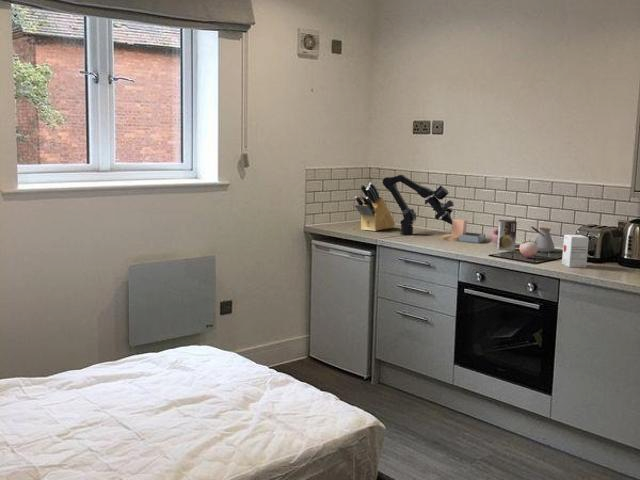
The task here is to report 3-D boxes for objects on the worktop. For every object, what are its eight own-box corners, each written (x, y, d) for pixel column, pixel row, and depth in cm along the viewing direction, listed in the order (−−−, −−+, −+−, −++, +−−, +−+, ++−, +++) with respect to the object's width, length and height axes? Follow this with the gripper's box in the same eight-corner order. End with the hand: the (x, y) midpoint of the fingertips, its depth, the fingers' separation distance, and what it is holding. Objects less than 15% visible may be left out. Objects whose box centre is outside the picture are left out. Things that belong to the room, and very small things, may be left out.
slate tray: (458, 241, 421) (459, 234, 421) (465, 238, 434) (465, 232, 433) (478, 243, 416) (479, 236, 415) (485, 240, 428) (485, 234, 428)
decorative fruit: (524, 259, 364) (526, 240, 363) (516, 257, 372) (517, 238, 371) (541, 259, 367) (542, 240, 366) (532, 256, 375) (533, 238, 373)
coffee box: (513, 248, 401) (515, 220, 398) (515, 250, 394) (517, 221, 392) (496, 247, 401) (498, 219, 399) (498, 249, 395) (500, 220, 393)
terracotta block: (451, 236, 427) (452, 219, 425) (454, 235, 433) (455, 218, 431) (462, 237, 424) (463, 220, 422) (465, 236, 430) (467, 219, 428)
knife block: (352, 231, 450) (354, 182, 446) (380, 226, 479) (382, 180, 474) (367, 233, 444) (369, 183, 439) (395, 228, 472) (397, 181, 468)
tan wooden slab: (438, 239, 427) (438, 236, 427) (445, 236, 439) (445, 233, 439) (458, 241, 422) (458, 238, 421) (464, 238, 434) (465, 235, 434)
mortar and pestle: (488, 245, 408) (490, 226, 407) (493, 243, 419) (494, 223, 417) (510, 247, 403) (511, 227, 401) (514, 245, 414) (515, 225, 412)
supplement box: (561, 263, 356) (563, 234, 354) (578, 264, 357) (581, 234, 355) (568, 267, 347) (571, 236, 345) (586, 267, 348) (589, 237, 346)
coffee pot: (538, 249, 402) (540, 222, 400) (557, 252, 394) (560, 225, 392) (519, 252, 387) (521, 225, 385) (538, 255, 379) (540, 227, 377)
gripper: (441, 197, 421) (458, 217, 417) (450, 195, 437) (467, 214, 434) (427, 209, 425) (444, 229, 422) (437, 207, 442) (454, 226, 438)
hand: (453, 224), depth 429 cm, fingers closed
